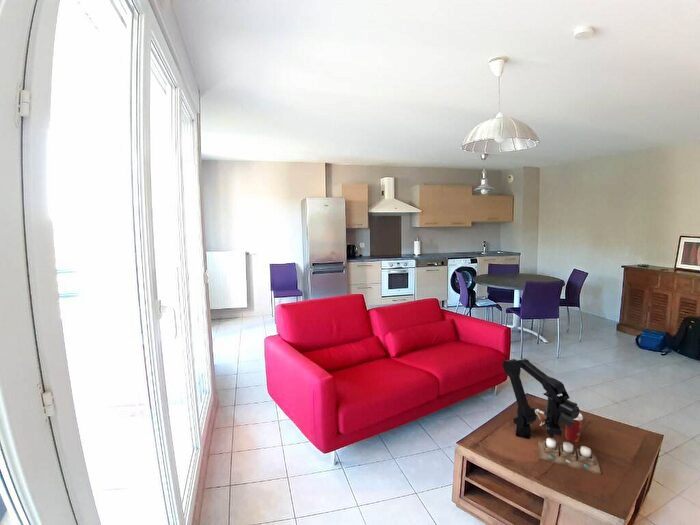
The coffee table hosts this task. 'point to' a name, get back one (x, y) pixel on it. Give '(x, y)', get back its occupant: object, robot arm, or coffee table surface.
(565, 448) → the button mid
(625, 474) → the coffee table surface
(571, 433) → the paper cup
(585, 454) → the button right
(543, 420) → the bull figurine
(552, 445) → the button left
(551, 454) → the board
